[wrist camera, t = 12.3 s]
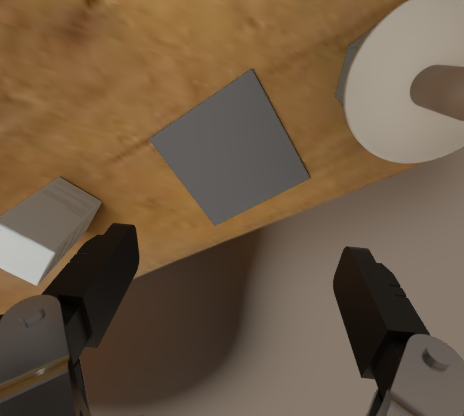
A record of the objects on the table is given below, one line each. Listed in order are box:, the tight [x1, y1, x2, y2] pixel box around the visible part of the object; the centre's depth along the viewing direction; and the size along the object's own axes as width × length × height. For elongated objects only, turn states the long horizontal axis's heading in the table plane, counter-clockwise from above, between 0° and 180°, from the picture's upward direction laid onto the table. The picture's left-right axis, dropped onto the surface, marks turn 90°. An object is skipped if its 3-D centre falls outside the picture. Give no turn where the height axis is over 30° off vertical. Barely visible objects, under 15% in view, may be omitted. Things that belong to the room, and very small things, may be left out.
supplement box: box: [0, 177, 102, 286], centre depth 39 cm, size 7×7×13 cm
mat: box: [149, 69, 310, 226], centre depth 39 cm, size 16×16×1 cm
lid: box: [343, 0, 464, 163], centre depth 24 cm, size 15×15×7 cm
